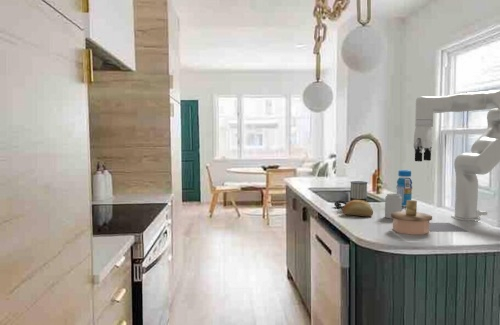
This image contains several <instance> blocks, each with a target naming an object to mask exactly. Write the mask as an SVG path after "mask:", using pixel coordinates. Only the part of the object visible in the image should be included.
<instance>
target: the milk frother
mask: <svg viewBox="0 0 500 325" xmlns="http://www.w3.org/2000/svg"><path fill="white" fill-rule="evenodd" d="M367 195H368V182H367V181H364V180H363V181H362V180H353V181H350V200H349V201H351V200H364V201H366V202H368V201H367V198H368V197H367ZM346 203H347V202H346V201H344V200H340V199H339V200H336V201H335V202H334V206H335V208H337V209H343V207H344V205H345V204H346ZM342 204H343V206H342Z"/></svg>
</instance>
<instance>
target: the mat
mask: <svg viewBox="0 0 500 325" xmlns="http://www.w3.org/2000/svg"><path fill="white" fill-rule="evenodd" d="M431 232H432V233H433V232H446V233H447V232H451V233H452V232H454V233H455V232H463V233H465V232H468V233H469V231H468V230H466V229H465V228H463V227H460V226H458V225H455V224H453V223H450V222H429V233H431Z"/></svg>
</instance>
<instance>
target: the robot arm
mask: <svg viewBox="0 0 500 325" xmlns="http://www.w3.org/2000/svg"><path fill="white" fill-rule="evenodd" d="M484 110H488V112H487V115H486V120H487V128H486V130H485V131H484V133H482V134H481V135H480V136H479V138H477V139H476V140H475V142H474V143H473V144H472V145H471V148H470V151H471V152H464V153H460V154H458V155H457V156H456V157H455V159H454V163H453V165H454V172H455V194H454V196H455V197H454V198H455V200H454V213H452V214H451V215H450V217H451V218H452V219H455V220H459V221H460V220H462V221H475V222H478V221H481V216H488V212H487V211H484V210H483V211H482V210H479V209H478V201H479V200H478V199H479V197H478V194H479V193H478V192H479V179H478V177H477V175H478V176H479V175H480V176H481V175H486V174H488V173H490V172H491V171H492V170H494V168H496V166H497V165H498V164H500V89H498V90H488V91H478V92H476V91H475V92H467V93H466V92H463V93H458V94H453V95H447V96H446V95H444V96H443V95H442V96H441V95H440V96H430V95H429V96H428V95H427V96H426V95H425V96H419V97H417V98H416V100H415V121H414V123H415V124H414V134H413V145H412V146H413V149H414V162H423V161H431V159H432V145H433V132H432V130H433V129H432V127H434V114H441V113H442V114H443V113H449V112H450V113H451V112H453V113H460V112H461V113H462V112H463V113H464V112H473V111H484ZM423 150H424V151H423Z"/></svg>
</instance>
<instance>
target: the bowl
mask: <svg viewBox="0 0 500 325" xmlns="http://www.w3.org/2000/svg"><path fill="white" fill-rule="evenodd" d="M429 223H430V221H405V220H399V219H395V218H393V219H392V230H393V231H395V232H396V233H399V234H405V235H425V234H428V233H430V231H429Z"/></svg>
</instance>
